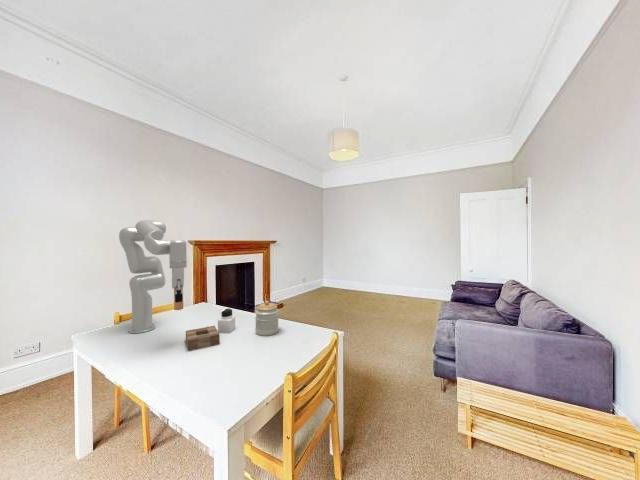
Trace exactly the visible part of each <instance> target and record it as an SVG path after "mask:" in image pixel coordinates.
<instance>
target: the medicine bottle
mask: <svg viewBox="0 0 640 480" xmlns="http://www.w3.org/2000/svg"><path fill="white" fill-rule="evenodd" d="M235 329H236V316H233V309H232V308H224V309H222V310H221V311H220V318H219V319H218V320H217V331H218V333H224V334H225V333H227V334H229V333H231V332H233V331H234V330H235Z"/></svg>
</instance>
